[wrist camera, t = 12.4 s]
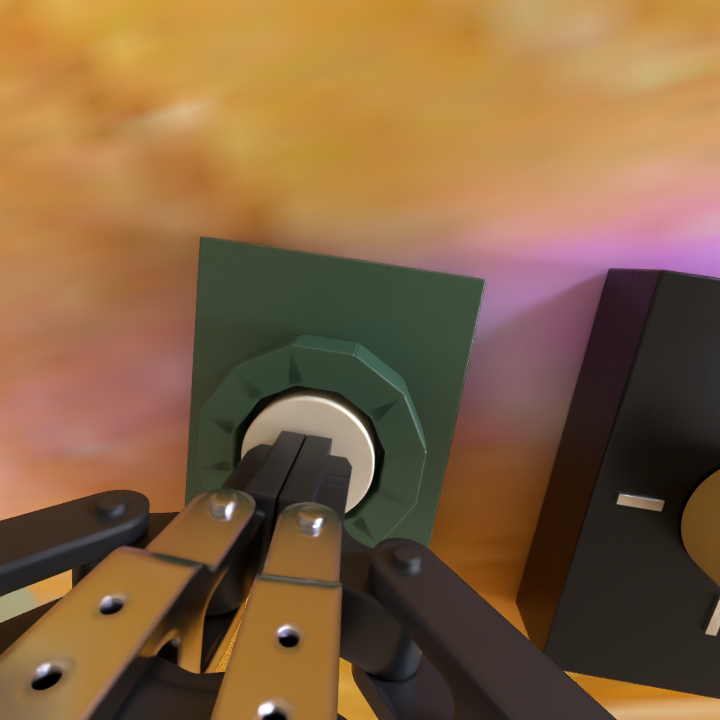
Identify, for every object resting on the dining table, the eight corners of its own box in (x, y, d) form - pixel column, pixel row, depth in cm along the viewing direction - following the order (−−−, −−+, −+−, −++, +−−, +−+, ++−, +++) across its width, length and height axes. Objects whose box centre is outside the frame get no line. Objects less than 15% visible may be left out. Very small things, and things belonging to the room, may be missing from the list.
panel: (607, 267, 15) (666, 269, 12) (903, 312, 14) (1043, 325, 11) (514, 601, 18) (540, 672, 15) (754, 644, 18) (831, 724, 15)
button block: (225, 239, 15) (170, 232, 11) (473, 277, 15) (502, 282, 11) (205, 527, 18) (155, 599, 14) (413, 563, 18) (420, 647, 14)
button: (263, 372, 14) (246, 388, 12) (385, 392, 14) (384, 410, 12) (253, 482, 15) (235, 510, 13) (366, 501, 15) (363, 532, 13)
